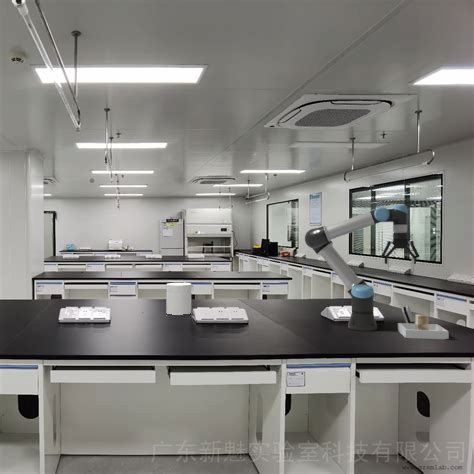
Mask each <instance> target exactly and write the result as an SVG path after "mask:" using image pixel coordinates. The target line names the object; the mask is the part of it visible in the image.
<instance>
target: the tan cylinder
mask: <svg viewBox="0 0 474 474" xmlns="http://www.w3.org/2000/svg"><path fill="white" fill-rule="evenodd" d="M415 318H416V323H415V324H416V330H428V324H429V315H427V314H421V313H420V314H419V313H418V314H415Z"/></svg>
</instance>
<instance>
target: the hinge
mask: <svg viewBox="0 0 474 474" xmlns="http://www.w3.org/2000/svg"><path fill="white" fill-rule="evenodd" d="M401 312H402V315H403V318H404V320H405V323H413V324H416V315H414V314H413V313H412V310H411V308H410V306H409V305H406V306H402V307H401Z"/></svg>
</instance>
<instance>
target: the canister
mask: <svg viewBox="0 0 474 474" xmlns="http://www.w3.org/2000/svg"><path fill="white" fill-rule="evenodd" d="M165 296H166V298H165V299H166V305H165V306H166V309H165V310H166V311H165V312H166V313H167V314H172V315H183V314H190V313H191V314H192V283H190V282H171V283H170V282H169V283H166V295H165Z"/></svg>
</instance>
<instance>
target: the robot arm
mask: <svg viewBox="0 0 474 474" xmlns="http://www.w3.org/2000/svg"><path fill="white" fill-rule="evenodd" d="M379 223H392V232H393V233H392V241H391V240H387V241H386V245H385V247H384V249H383V251H382V254H381V255H380V256H381V257H382V258H384V264H385V265H386V270H387V271H390V259H389V256H390V255H391V254H393V252H394V251H395V250H396V249H397V250H399V249H400V250H406V252H407V253H408V254H409V255H410V256H411V257H412V258H411V270H412V271H415V265H416V263H417V258H420V254H419V252H418V250H417V248H416V246H415V244H414V241H413V240H410V241H408V206H406V205H405V204H397V205H396V204H395V205H393V206H392V208H387V207H384V206H380V207H377V208H372V209H371V211H367V212H364V213H361V214H359V215H356V216H353V217H350V218H348V219H345V220H342V221H340V222H336V223H334V224H331V225H328V226H325V225H322V226H320V227H319V226H318V227H317V228H316V227H315V228H310V229H309V230H308V231H307V232H306V233H305V236H304V242H305V244H306V246H308V248H311V249H312V250H313V251H314V253H315V254H316V255H318V256H321V257H322V258H323V259H324V260H325V262H326V264H327V265H328V266H329V267H330V268H331V270H332V271H333V272H334V273H335V274H336V276H337V277H338V278H339V279H340V280H341V282H342V284H344V286H346V293H348V294H349V295H350V297H351V315H350V317H349V321H348V323H347V325H348V329H350V330H353V331H354V330H355V331H360V332H366V331H367V332H368V331H369V332H370V331H371V332H372V331H376V330H377V329H378V325H377V324H378V323H377V321H376V318H375V316H374V314H375V313H374V309H375V307H374V306H375V305H374V303H375V302H374V299H375V291H374V287H373V286H372V285H369V284H368V283H366V281H365V280H364V279H363V278H361V277H358V276H357V274H356V273H355V272H354V270H353V269H352V268H351V267H350V266H349V264H348V263H347V262H346V261H345V260H344V258H343V257H342V256H341V255H340V254H339V252H338V251H337V250H336V248H334V246H333V244H334V243H333V242H334V241H332V240H334V239H336V238H337V239H338V238H339V237H342V236H346V235H348V234H350V233H355V232H356V231H359V230H362V229H364V228H368V227H371V226H373V225H376V224H379ZM408 244H409V246H410V247H411V249H412V251H413V252H412V251H411V249H409V247H408ZM391 245H393V246H392V248H391V249H390V246H391ZM388 249H390V250H388Z"/></svg>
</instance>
